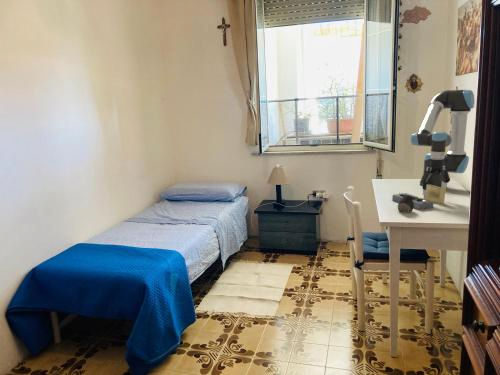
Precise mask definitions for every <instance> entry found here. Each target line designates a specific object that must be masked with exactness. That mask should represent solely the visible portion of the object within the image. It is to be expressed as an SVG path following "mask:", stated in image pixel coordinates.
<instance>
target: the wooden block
mask: <svg viewBox="0 0 500 375" xmlns="http://www.w3.org/2000/svg"><path fill="white" fill-rule="evenodd" d="M445 190H447V187H446V188H442V187H438V186H434V185H431V184H428V192H427V196H426V195H423V199H426V200H430V201H433V202H434V203H433V204H438V205H441V204H445V199H446V192H445Z"/></svg>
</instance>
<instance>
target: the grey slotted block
mask: <svg viewBox="0 0 500 375" xmlns="http://www.w3.org/2000/svg"><path fill="white" fill-rule="evenodd" d="M406 195H409V196H410V197H411V198H412V200H413V202H414V208H413V209H416V210H418V211H419V210H426V209H433V208H434V204H435V203H434V202H433V201H430V200H426V199H424V197H423V198H422V197H419V196H417V195H412V194H409V193H406V192H405V193H403V192H399V193H397V194H392V197H391V198H392V199H391V200H392V201H393V202H394V203H395V202H396V203H397V204H399V201H400V200H401V199H402V198H403V197H404V196H406Z"/></svg>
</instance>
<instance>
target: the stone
mask: <svg viewBox="0 0 500 375" xmlns="http://www.w3.org/2000/svg"><path fill="white" fill-rule="evenodd" d="M413 209H415V208H414V202H413V200H412V198H411V197H410V196H409V195H406V196H404V197H403V198H402V199H401V200H400V201H399V203H397V210H398V212H404V213H412V211H413Z"/></svg>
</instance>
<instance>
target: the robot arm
mask: <svg viewBox="0 0 500 375" xmlns="http://www.w3.org/2000/svg"><path fill="white" fill-rule="evenodd" d="M474 107H475V95H474V91H472V90H471V89H451V90H450V89H448V90H443V91H440V92H439V93H438V94H436V95H434V97H433V98H431V100H430V101H429V103H428V106H427V108H428V109H427V111H426V113H425V116H424V118H423V121H422V123H421V124H420V127H419V129H418V132H415V133H412V134H411V136H410V143H411V145H413V146H417V147H430V152H427V153H425V155H424V161H423V162H424V163H423V173H422V176H421V179H420V181H419V185H420V186H422V195H423V196H424V195H426V196H427V192H428V184H431V185H434V186H438V187H442V188H446V190H447V187H448V186H447V185H448V183H449V182H451V178H450V174H449V173H454V174H463V173H464V172H466V170H467V168H468V166H469V159H470V156H468V155H467V152H466V151H465V146H466V145H465V142H466V133H467V132H466V131H467V123H468V122H467V121H468V114H470V112H471V110H472V109H474ZM445 109H450V110H449V112H450V113H451V115H452V116H451V118H452V119H451V126H450V127H451V129H450V134H448V133H447V132H445V131H434V132H433V130H434V128H435V126H436V123H437V121H438V119H439V117H440V115H441V112H443V111H444V110H445ZM448 146H449V149H448V151H447V152H446V148H447V147H448ZM446 190H445V193H446Z"/></svg>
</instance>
